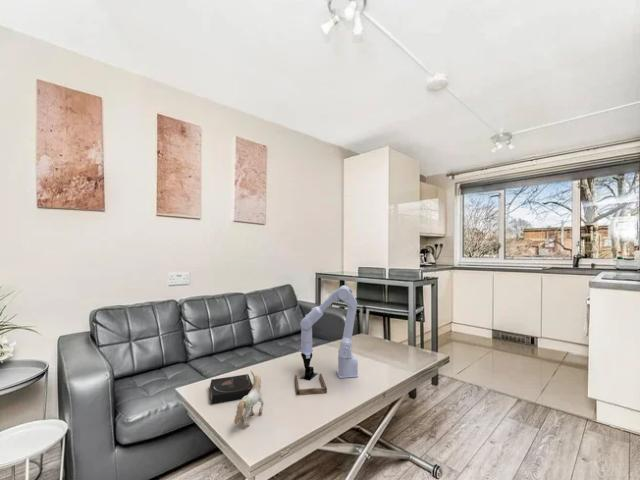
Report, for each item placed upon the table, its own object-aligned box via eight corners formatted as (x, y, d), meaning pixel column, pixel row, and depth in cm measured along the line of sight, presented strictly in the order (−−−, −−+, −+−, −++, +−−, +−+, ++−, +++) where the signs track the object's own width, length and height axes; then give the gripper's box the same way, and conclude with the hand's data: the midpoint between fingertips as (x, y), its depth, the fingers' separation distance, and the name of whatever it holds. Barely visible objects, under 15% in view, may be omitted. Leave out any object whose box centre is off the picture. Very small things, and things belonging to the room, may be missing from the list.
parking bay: (321, 377, 146) (321, 373, 146) (326, 393, 130) (326, 388, 130) (294, 379, 144) (294, 375, 144) (297, 395, 128) (297, 390, 128)
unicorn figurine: (267, 404, 120) (267, 370, 121) (253, 433, 101) (254, 393, 101) (250, 403, 121) (250, 370, 121) (233, 432, 101) (233, 392, 102)
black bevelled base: (309, 383, 141) (309, 373, 141) (296, 380, 144) (296, 370, 144) (321, 373, 152) (321, 364, 152) (308, 371, 155) (308, 362, 155)
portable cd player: (209, 388, 135) (209, 379, 135) (248, 382, 142) (248, 374, 142) (211, 406, 120) (211, 395, 120) (253, 398, 126) (253, 388, 126)
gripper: (297, 337, 160) (297, 363, 159) (299, 345, 145) (299, 374, 145) (311, 336, 161) (311, 362, 160) (314, 345, 146) (314, 373, 146)
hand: (306, 368), depth 152 cm, fingers closed
